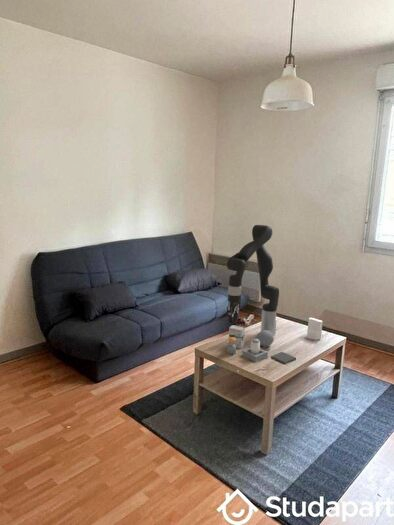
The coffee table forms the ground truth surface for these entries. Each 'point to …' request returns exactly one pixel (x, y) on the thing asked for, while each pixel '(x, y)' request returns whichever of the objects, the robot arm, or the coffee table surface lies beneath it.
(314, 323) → the white upright block
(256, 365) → the coffee table surface
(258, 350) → the cylinder
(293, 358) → the rubber mat
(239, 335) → the ink box
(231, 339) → the plunger
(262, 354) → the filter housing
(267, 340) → the decorative stone
